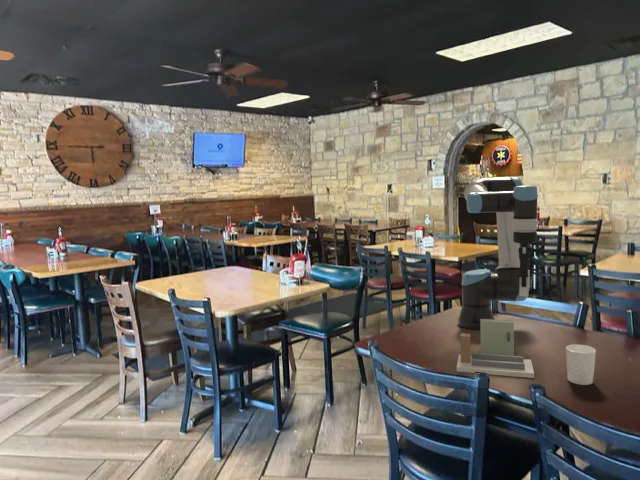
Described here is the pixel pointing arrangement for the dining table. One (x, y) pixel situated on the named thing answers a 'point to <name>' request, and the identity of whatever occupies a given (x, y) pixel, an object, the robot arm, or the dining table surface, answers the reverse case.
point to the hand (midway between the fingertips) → (524, 291)
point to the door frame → (492, 362)
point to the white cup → (580, 364)
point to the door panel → (497, 337)
